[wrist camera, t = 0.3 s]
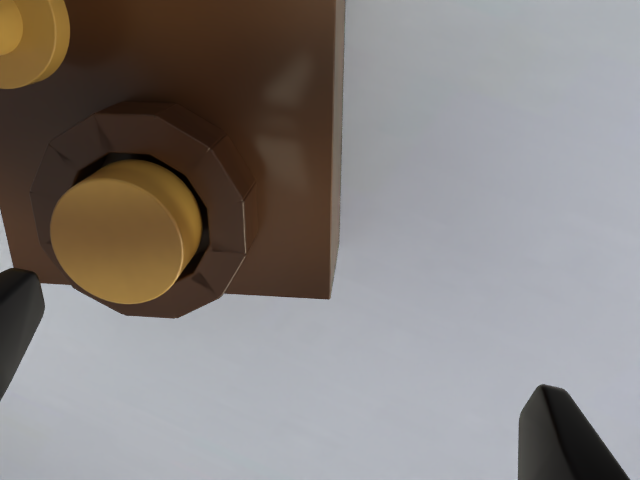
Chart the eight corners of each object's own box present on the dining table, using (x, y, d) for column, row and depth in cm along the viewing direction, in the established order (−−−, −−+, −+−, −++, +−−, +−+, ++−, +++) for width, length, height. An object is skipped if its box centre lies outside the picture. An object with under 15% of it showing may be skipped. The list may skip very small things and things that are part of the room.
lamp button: (207, 277, 19) (188, 308, 17) (92, 271, 19) (61, 301, 18) (198, 161, 17) (176, 181, 16) (72, 156, 18) (36, 175, 16)
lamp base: (339, 244, 25) (325, 329, 19) (79, 231, 26) (-18, 309, 20) (347, -93, 20) (332, -132, 14) (23, -93, 21) (-131, -129, 15)
